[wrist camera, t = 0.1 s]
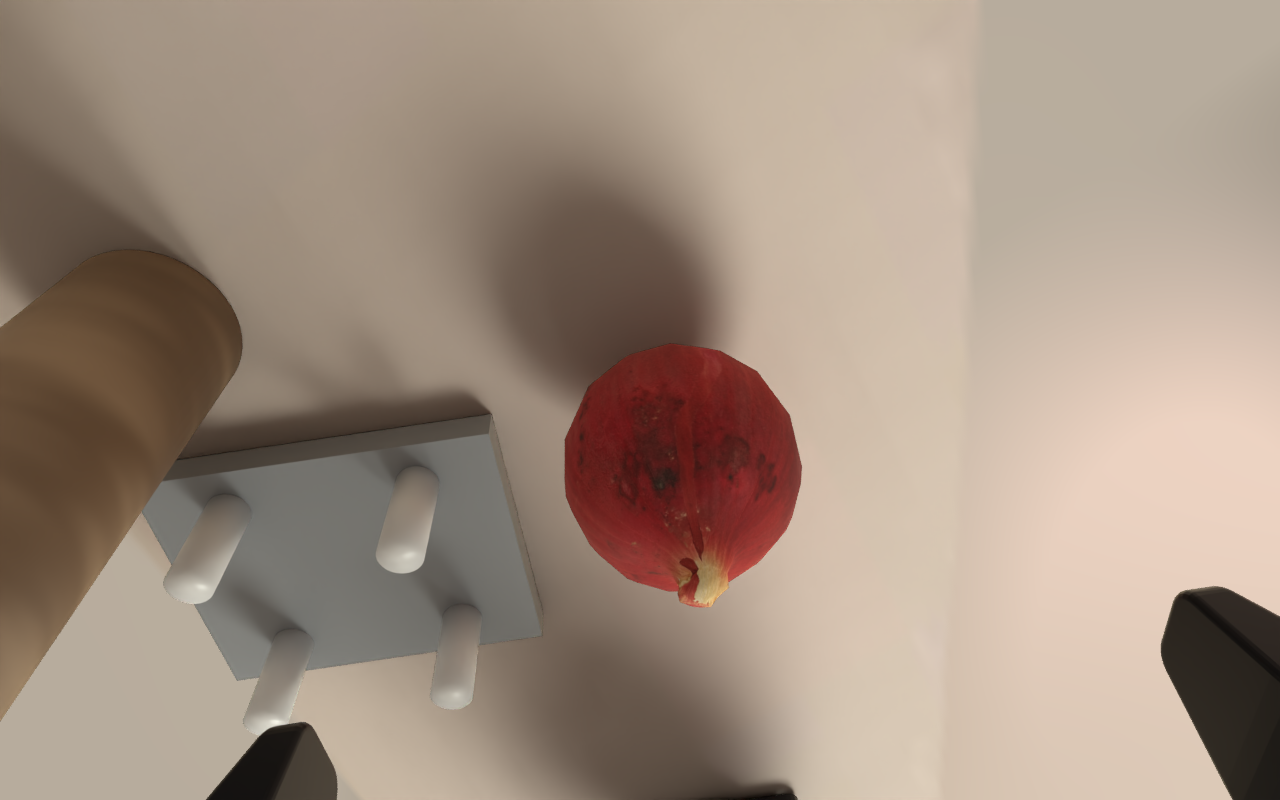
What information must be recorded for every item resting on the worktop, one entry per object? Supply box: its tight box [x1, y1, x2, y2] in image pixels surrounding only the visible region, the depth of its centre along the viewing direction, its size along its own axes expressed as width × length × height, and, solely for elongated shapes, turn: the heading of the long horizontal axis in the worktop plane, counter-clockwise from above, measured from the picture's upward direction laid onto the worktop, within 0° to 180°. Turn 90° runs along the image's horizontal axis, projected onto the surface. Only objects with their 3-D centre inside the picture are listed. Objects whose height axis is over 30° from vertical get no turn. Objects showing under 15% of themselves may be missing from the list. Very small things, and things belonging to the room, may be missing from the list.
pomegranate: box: [565, 343, 802, 607], centre depth 21 cm, size 6×6×8 cm
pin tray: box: [142, 414, 543, 736], centre depth 24 cm, size 8×10×4 cm
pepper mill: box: [0, 250, 242, 721], centre depth 17 cm, size 4×4×12 cm
